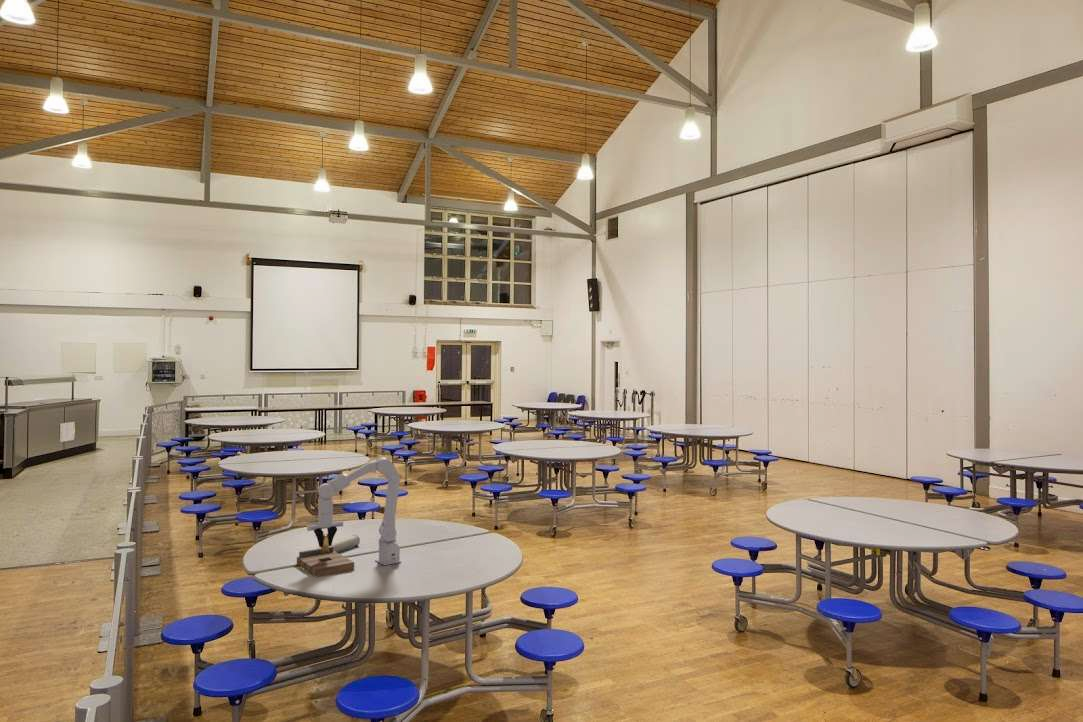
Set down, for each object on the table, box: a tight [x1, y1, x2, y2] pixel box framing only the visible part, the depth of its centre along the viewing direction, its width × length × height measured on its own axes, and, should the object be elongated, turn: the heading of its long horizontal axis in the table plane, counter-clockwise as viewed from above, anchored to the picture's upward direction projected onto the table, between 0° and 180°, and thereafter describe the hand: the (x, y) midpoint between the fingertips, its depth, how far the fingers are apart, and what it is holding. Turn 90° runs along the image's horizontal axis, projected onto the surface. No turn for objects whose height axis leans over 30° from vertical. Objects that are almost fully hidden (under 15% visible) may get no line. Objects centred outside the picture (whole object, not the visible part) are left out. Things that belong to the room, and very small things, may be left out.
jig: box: [296, 547, 355, 577], centre depth 276 cm, size 22×16×5 cm
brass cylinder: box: [321, 533, 329, 553], centre depth 276 cm, size 3×3×7 cm
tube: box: [316, 534, 361, 553], centre depth 299 cm, size 5×5×25 cm
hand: (325, 546), depth 276 cm, fingers closed on brass cylinder, 3 cm apart
